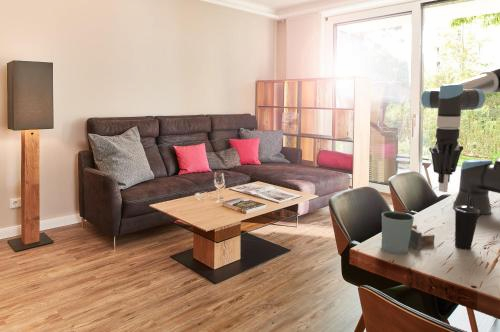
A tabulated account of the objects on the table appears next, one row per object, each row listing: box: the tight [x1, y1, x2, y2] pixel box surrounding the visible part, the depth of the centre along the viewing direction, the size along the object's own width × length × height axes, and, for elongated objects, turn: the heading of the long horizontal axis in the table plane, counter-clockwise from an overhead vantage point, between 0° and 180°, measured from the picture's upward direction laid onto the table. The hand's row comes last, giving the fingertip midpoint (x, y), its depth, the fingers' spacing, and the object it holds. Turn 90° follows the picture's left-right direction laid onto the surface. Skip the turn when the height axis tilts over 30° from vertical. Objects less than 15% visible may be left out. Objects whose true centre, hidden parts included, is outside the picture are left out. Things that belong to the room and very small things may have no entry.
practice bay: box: [409, 224, 436, 251], centre depth 142 cm, size 9×14×6 cm, turn 13°
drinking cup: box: [454, 191, 480, 251], centre depth 136 cm, size 8×8×20 cm
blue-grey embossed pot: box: [381, 210, 415, 255], centre depth 135 cm, size 10×10×12 cm
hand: (442, 191), depth 148 cm, fingers closed
